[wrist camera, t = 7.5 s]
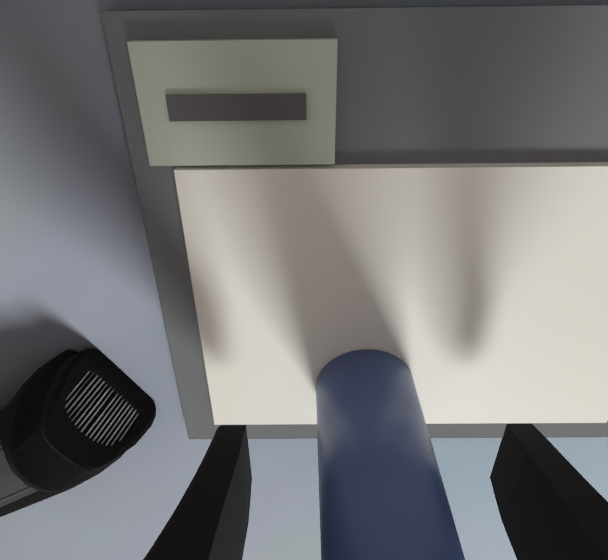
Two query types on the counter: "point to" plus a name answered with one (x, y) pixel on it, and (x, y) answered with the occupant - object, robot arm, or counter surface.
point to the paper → (403, 285)
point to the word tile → (237, 100)
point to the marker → (378, 465)
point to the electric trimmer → (68, 427)
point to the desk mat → (387, 126)
